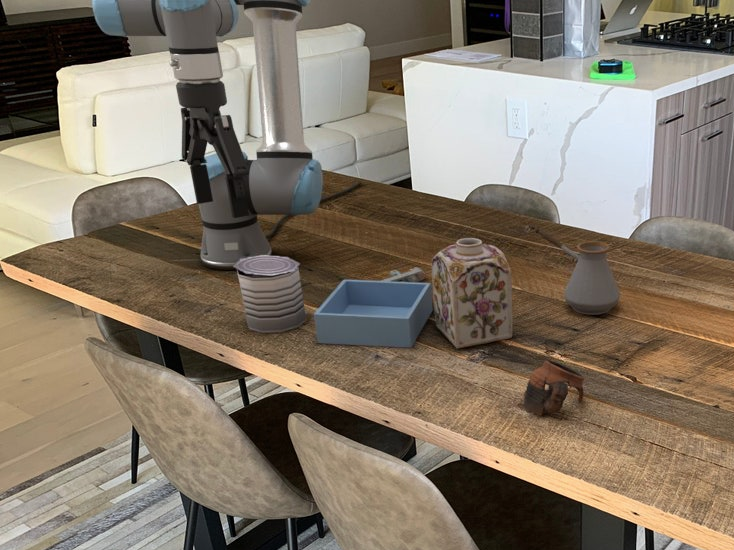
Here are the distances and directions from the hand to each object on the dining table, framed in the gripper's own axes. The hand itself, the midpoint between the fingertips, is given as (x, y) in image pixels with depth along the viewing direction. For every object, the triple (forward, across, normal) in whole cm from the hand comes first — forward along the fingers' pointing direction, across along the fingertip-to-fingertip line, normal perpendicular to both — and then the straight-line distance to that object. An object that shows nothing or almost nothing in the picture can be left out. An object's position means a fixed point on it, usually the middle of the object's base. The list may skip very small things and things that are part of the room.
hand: (222, 209), depth 154 cm
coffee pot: (+23, +33, +55) cm, 68 cm away
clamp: (+22, +1, +34) cm, 40 cm away
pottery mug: (+25, +62, +22) cm, 70 cm away
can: (+23, 0, +7) cm, 24 cm away
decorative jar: (+23, +30, +31) cm, 49 cm away
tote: (+23, +15, +20) cm, 34 cm away
